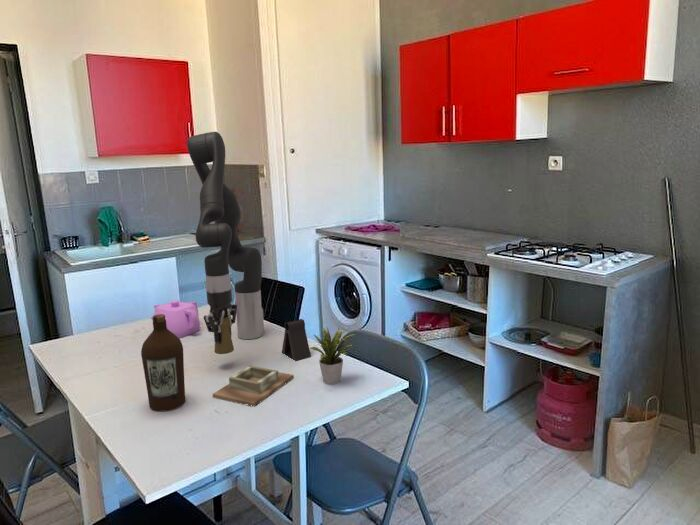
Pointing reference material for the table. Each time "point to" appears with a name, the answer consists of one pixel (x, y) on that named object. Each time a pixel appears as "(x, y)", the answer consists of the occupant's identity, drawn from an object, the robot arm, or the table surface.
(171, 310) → the teakettle
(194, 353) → the table surface
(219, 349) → the cork
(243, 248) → the robot arm
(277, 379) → the socket board
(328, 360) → the house plant
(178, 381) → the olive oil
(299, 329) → the phone stand
